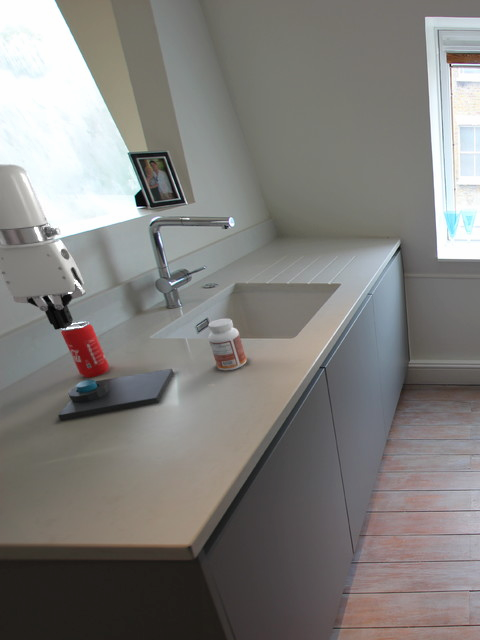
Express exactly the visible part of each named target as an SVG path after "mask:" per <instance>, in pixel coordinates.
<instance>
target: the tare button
mask: <svg viewBox="0 0 480 640" xmlns="http://www.w3.org/2000/svg"><path fill="white" fill-rule="evenodd" d="M95 381H96V380H95V379H86V380H83V381H80V382H78V383H76V384H75V387H76V388H77V390H78V392H79V393H85V392H89V391H92V390H94V389H96V388H98V387H97V384H96V382H95Z"/></svg>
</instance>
